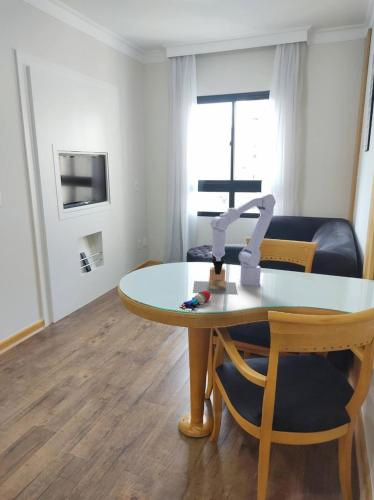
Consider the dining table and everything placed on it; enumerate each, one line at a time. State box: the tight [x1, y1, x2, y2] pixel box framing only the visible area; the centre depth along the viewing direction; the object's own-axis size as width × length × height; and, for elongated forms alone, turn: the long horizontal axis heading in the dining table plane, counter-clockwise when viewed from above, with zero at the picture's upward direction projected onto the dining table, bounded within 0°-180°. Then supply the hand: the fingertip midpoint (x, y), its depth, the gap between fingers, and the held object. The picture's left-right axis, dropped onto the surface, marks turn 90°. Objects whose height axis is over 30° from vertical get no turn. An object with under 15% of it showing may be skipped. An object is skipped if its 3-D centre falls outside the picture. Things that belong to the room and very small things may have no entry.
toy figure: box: [180, 291, 211, 309], centre depth 149 cm, size 8×5×15 cm
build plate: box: [192, 280, 238, 295], centre depth 168 cm, size 20×16×1 cm
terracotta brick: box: [209, 266, 226, 280], centre depth 168 cm, size 7×4×5 cm, turn 87°
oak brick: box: [208, 275, 227, 289], centre depth 169 cm, size 8×6×4 cm
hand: (217, 271), depth 167 cm, fingers open, 7 cm apart
